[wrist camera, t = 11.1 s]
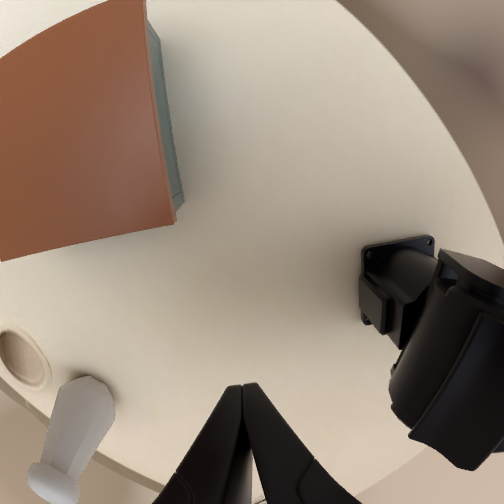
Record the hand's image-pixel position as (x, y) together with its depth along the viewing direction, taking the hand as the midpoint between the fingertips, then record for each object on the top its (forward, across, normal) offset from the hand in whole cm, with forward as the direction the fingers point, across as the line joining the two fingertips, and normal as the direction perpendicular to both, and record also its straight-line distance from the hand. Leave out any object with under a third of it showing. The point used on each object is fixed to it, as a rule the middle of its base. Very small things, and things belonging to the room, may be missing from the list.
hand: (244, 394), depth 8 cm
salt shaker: (+13, +16, +12) cm, 24 cm away
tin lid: (+7, +8, -10) cm, 14 cm away
